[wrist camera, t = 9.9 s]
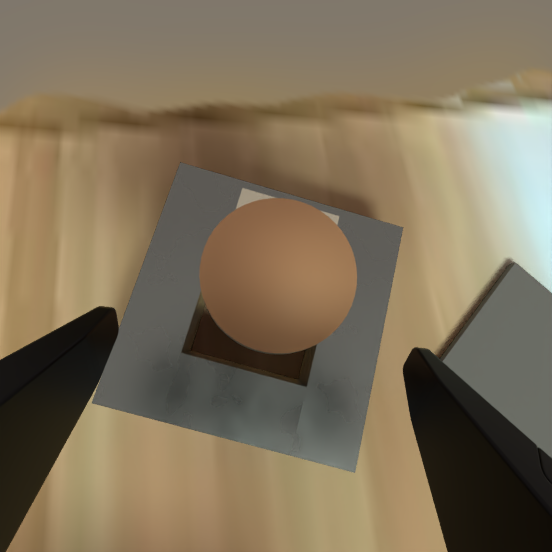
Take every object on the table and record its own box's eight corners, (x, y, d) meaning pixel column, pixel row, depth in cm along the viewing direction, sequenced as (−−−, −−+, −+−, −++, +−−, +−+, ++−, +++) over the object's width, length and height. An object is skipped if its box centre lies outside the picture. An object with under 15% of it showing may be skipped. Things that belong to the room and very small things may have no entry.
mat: (559, 530, 20) (567, 535, 19) (411, 396, 21) (416, 397, 20) (645, 379, 22) (654, 380, 22) (509, 264, 23) (515, 262, 22)
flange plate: (338, 452, 20) (356, 474, 16) (115, 392, 19) (89, 403, 16) (382, 241, 22) (404, 226, 19) (189, 185, 22) (179, 160, 19)
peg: (300, 330, 21) (383, 321, 8) (240, 353, 20) (227, 381, 7) (278, 272, 21) (325, 178, 9) (220, 292, 21) (176, 222, 8)
